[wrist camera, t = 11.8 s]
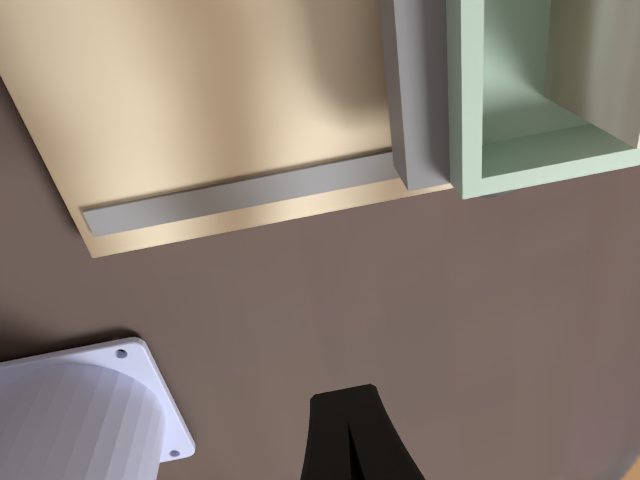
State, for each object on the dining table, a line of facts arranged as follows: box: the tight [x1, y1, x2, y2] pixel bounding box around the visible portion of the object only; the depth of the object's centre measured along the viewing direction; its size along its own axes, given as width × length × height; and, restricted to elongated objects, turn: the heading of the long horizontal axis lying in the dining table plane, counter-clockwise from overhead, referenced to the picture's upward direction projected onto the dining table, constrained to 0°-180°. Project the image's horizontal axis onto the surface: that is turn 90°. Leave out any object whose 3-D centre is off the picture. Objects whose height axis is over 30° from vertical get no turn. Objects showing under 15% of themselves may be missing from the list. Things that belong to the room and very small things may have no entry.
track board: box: [0, 0, 454, 258], centre depth 14 cm, size 24×11×4 cm, turn 99°
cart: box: [378, 0, 640, 199], centre depth 13 cm, size 11×9×4 cm
